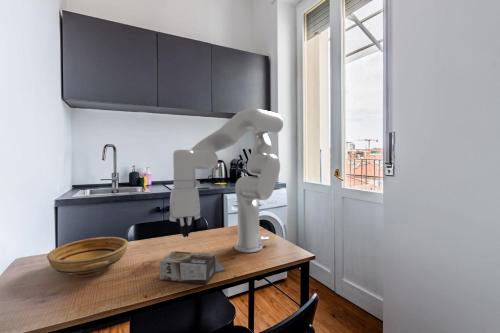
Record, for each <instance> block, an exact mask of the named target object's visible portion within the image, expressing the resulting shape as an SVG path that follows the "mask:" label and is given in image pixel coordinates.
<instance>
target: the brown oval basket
mask: <svg viewBox="0 0 500 333" xmlns="http://www.w3.org/2000/svg"><path fill="white" fill-rule="evenodd" d="M128 245H129V241H128V240H127V239H125V238H122V237H118V236H117V237H116V236H100V237H98V236H97V237H91V238H85V239H80V240H76V241H73V242H70V243H66V244H63V245H61V246H60V245H59V246H58V247H56V248H53V249H52V250H51V251H49V252H48V253H47V255H46V259H47V260H48V263H49V266H50V267H51V268H52V269H53V270H54V271H56V272H58V273H60V274H66V275H72V276H74V277H82V278H84V277H90V276H95V275H98V274H100V273H103V272H104V271H106V270H107V269H108V268H109V267H110V266H112V265H114V264H116V263H117V262H119V261H120V260H121V259H122V258H123V257H124V255H126V254H125V253H126V251H127V249H128Z"/></svg>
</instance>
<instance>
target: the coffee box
mask: <svg viewBox="0 0 500 333" xmlns="http://www.w3.org/2000/svg"><path fill="white" fill-rule="evenodd" d="M215 258H216V254H215V253H208V252H207V253H205V252H192V251H191V252H188V251H177V250H176V251H174V250H173V251H170V252H169V253H168V254H167V255H165V256H164V257H163V258H161V259H160V260H159V279H160V280H163V281H164V280H166V281H172V280H173V281H172V282H175V281H176V282H183V283H184V282H185V283H192V284H203V285H205V284H206V285H207V284H208V283H209V282H210V280H211V279H212V277H213V276H214V275H215V274H216V273H215V269H216V268H215V267H216V266H215Z"/></svg>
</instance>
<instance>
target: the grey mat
mask: <svg viewBox="0 0 500 333" xmlns="http://www.w3.org/2000/svg"><path fill="white" fill-rule="evenodd" d="M215 266H216V267H215V268H216V269H215V273H214V274H216V273H220V272H225V268H224V266H223V265H222V264H221V263H220V261H219V260H218V259H217V258H216V257H215ZM171 282H174V281H173V280H171Z"/></svg>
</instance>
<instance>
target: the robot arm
mask: <svg viewBox="0 0 500 333" xmlns="http://www.w3.org/2000/svg"><path fill="white" fill-rule="evenodd" d="M283 127H284V120H283V117H281V115H280V114H278V113H277V112H272V111H268V110H264V109H261V108H250V109H245V110H240V111H238V112H236V114H235V115H233V116H232V117H231V118H230V119H229V120H228V121H227V122H225V124H223V125H222V126H221V127H220V128H219V129H217V130H215V131H213V133H210V134H209V135H207V136H206V137H204V138H203V139H201V140H200V141H199V142H197V143H195V145H194V146H193V147H192V148H190V149H176V150H174V151H173V154H172V156H173V157H172V160H173V161H172V162H173V163H172V165H173V168H172V169H173V188H171V190H170V196H169V221H170V222H174V223H175V222H176V223H177V224H178V225H180V235H182V237H183V238H186V237H187V238H189V236H190V234H191V225H192V223H193V222H194V221H195V220H198V219H200V218H201V204H200V194H199V189H198V187H197V186H199V185H200V184H201V182H200V180H197V179H196V178H197V177H196V172H197V171H196V170H203V171H209V170H212V169H214V168H216V166H217V164H218V162H219V157H218V155H217V152H219V151H222V150H226V149H229V148H230V147H232V146H234V145H235V144H236V143H238V141H239V140H240V139H241V138H242V137H244V135H245V134H246V133H247V132H248V131H250V132H251V134H252V137H253V146H252V149H251V152H250V155H249V158H248V159H247V162H246V171H247V172H248V174H250V175H252V176H250V175H249V176H248V175H245V176H242V177H239V178H238V179H237V181H236V182H235V188H234V189H235V195H236V201H237V202H236V204H237V241H236V243H234V245H233V246H234V249H235V251H238V252H241V253H256V252H260V251H261V250H262V249H263V248H264V245H263V243H264V242H266V243H267V242H270V237H269V236H266V237H265V236H260V206H259V201H266V200H267V201H268V199H270V198H271V196H272V194H273V192H274V190H275V186H276V183H277V181H278V178H279V174H280V171H281V162H280V159H279V158H278V156H277V155H275V154H272V153H271V152H272V149H273V146H272V142H271V140H270V137H269V135H273V134H278V133H280V132H282V130H283ZM184 218H186V222H185V221H184Z"/></svg>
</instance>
